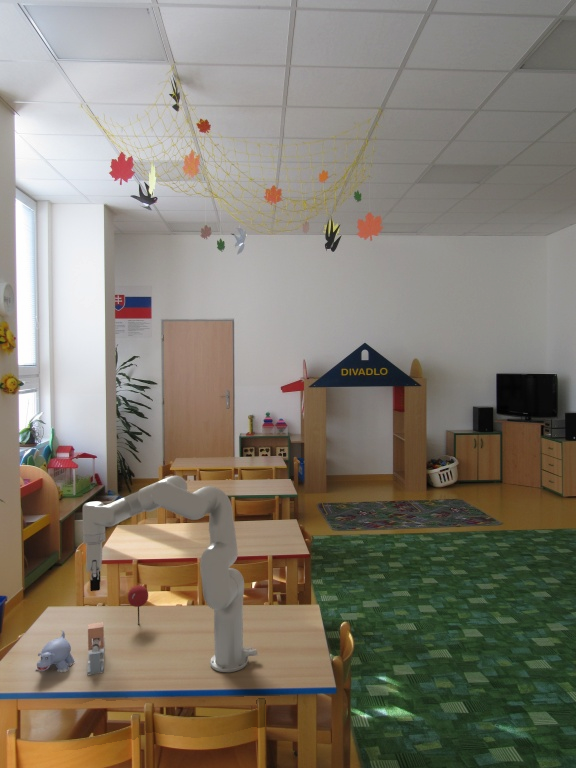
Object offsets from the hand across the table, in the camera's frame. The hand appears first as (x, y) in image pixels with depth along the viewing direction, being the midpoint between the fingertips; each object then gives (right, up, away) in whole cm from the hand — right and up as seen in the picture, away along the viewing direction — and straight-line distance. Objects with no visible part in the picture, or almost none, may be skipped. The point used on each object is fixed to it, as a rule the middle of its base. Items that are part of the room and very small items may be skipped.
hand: (95, 586), depth 210 cm
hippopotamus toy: (-9, -23, -14) cm, 28 cm away
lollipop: (+11, -21, +18) cm, 30 cm away
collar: (+2, -19, -6) cm, 20 cm away
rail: (+2, -22, -7) cm, 23 cm away
